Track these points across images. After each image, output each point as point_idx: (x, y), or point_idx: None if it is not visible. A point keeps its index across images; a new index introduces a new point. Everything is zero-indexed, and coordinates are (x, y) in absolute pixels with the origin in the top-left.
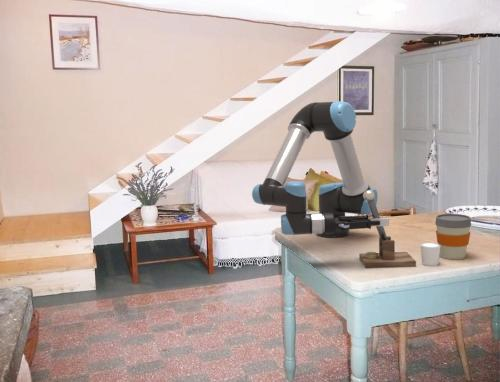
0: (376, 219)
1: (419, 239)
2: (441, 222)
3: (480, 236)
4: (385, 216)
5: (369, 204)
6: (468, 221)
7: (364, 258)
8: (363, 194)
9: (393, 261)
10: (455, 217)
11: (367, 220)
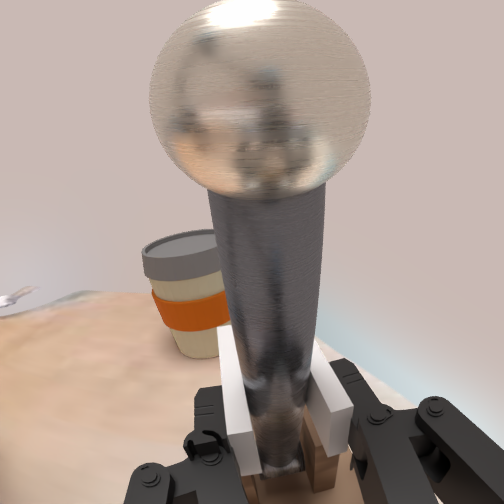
0: (332, 371)
1: (51, 373)
2: (211, 259)
3: (92, 302)
4: (222, 330)
5: (315, 252)
6: None
7: None
8: (297, 33)
9: (344, 452)
10: (172, 246)
11: (402, 427)
